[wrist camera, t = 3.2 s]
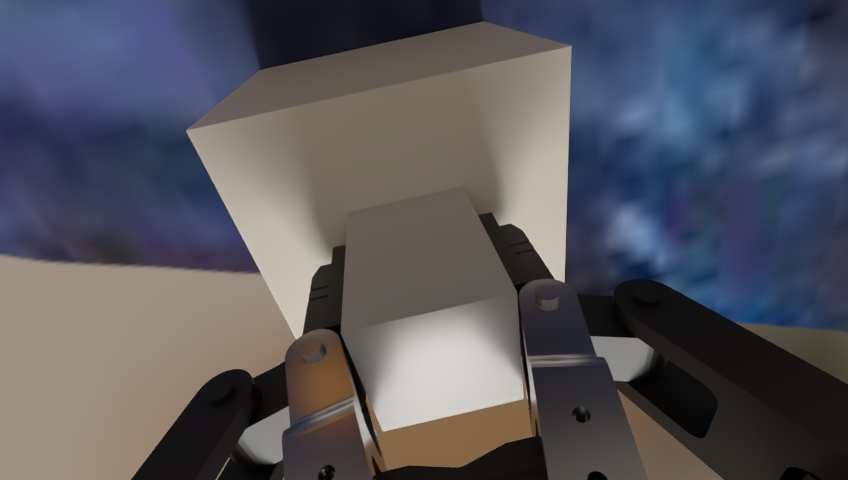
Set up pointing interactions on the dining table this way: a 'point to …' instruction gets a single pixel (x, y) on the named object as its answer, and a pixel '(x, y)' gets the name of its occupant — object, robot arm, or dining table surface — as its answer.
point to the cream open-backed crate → (404, 200)
